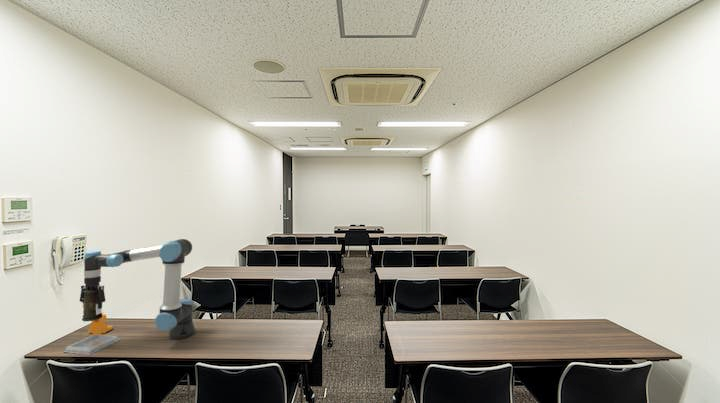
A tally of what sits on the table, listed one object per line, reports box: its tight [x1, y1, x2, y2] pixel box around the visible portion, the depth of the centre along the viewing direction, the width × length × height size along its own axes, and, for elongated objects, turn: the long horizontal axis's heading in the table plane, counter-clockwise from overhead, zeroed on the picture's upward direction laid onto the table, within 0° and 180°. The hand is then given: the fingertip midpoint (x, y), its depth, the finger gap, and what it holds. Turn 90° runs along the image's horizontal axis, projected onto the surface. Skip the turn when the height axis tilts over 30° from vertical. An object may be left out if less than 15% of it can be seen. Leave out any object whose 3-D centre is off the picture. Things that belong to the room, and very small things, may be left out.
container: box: [81, 290, 103, 322], centre depth 178 cm, size 9×9×18 cm
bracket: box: [87, 313, 114, 335], centre depth 198 cm, size 11×7×12 cm, turn 92°
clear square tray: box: [62, 334, 120, 356], centre depth 178 cm, size 18×18×3 cm
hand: (92, 313), depth 178 cm, fingers closed on container, 8 cm apart
